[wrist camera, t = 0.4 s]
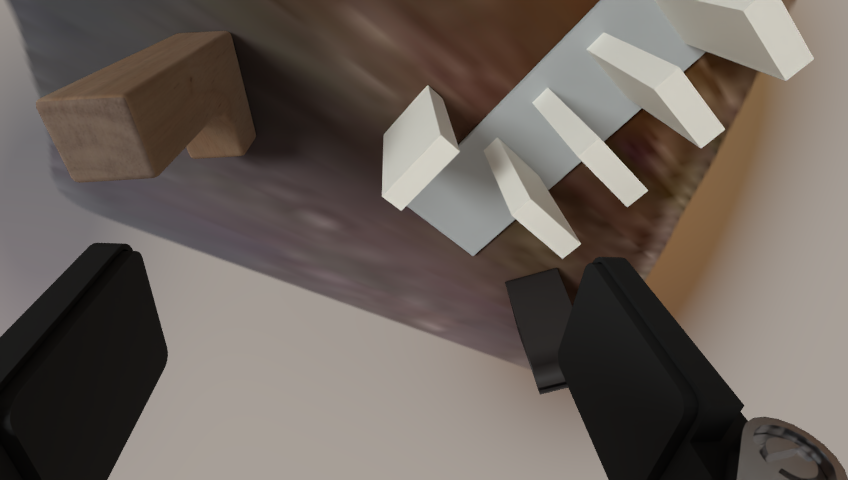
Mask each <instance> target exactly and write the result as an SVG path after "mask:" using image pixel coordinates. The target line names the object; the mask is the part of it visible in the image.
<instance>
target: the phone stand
mask: <svg viewBox="0 0 848 480" xmlns="http://www.w3.org/2000/svg"><path fill="white" fill-rule="evenodd" d="M505 284H506V287H507V291H508V295H509V298H510V302H511V306H512V309H513V313H514V317H515V321H516V325H517V328H518V332H519V335H520V338H521V341H522V344H523V347H524V350H525V352H526V355H527V358H528V361H529V364H530V367H531V369H532V372H533V375H534V378H535V381H536V384H537V387H538V390H539V393H540V394H544V393H548V392H552V391H556V390H560V389H564V388H568V385H567V383H566V381H565V378H564V376H563V374H562V371H561V369H560V367H559V363H558V350H559V347H560V344H561V341H562V338H563V335H564V332H565V329H566V325H567V322H568V319H569V316H570V313H571V310H572V305H571V302H570V300H569V297H568V295H567V292H566V290H565V287H564V285H563V282H562V280H561V277H560V275H559V272H558V270H557V268H554V269H551V270H547V271H544V272H540V273H536V274H533V275H529V276H525V277H522V278H518V279H514V280H511V281H507V282H505Z"/></svg>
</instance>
